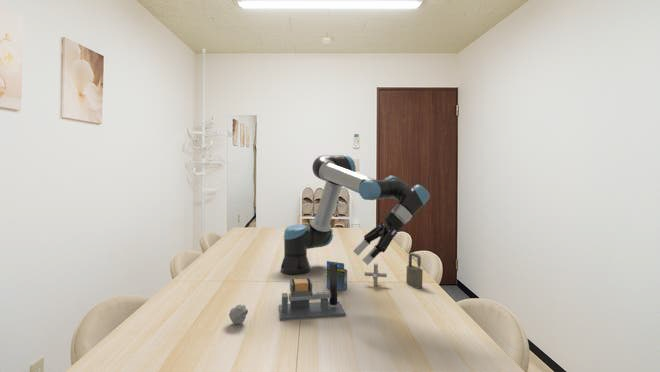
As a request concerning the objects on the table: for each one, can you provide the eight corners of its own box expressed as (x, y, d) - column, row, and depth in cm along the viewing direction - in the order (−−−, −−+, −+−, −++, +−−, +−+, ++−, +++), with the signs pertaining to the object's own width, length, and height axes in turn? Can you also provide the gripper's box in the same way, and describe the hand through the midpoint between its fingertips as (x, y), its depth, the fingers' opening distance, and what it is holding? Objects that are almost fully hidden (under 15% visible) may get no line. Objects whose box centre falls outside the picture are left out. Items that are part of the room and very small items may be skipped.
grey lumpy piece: (239, 330, 120) (239, 309, 120) (225, 324, 124) (224, 305, 123) (252, 323, 125) (252, 303, 125) (238, 318, 129) (237, 299, 128)
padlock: (416, 288, 161) (417, 256, 160) (405, 283, 168) (405, 252, 167) (423, 287, 163) (424, 255, 162) (411, 282, 170) (412, 251, 169)
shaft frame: (280, 320, 127) (280, 287, 127) (278, 307, 139) (278, 277, 138) (345, 316, 132) (346, 284, 131) (339, 303, 143) (339, 274, 143)
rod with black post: (289, 308, 132) (289, 267, 131) (288, 304, 135) (288, 264, 134) (338, 304, 136) (338, 264, 135) (336, 301, 139) (336, 262, 138)
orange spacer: (294, 296, 131) (294, 283, 131) (293, 292, 136) (293, 279, 136) (308, 296, 132) (308, 282, 132) (306, 291, 137) (306, 278, 137)
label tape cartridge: (347, 288, 161) (347, 261, 161) (344, 290, 158) (344, 263, 157) (329, 285, 165) (330, 258, 164) (326, 287, 162) (326, 260, 161)
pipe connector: (385, 289, 159) (386, 267, 159) (363, 288, 161) (363, 266, 161) (386, 282, 169) (387, 261, 168) (365, 281, 171) (366, 260, 170)
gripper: (417, 230, 127) (376, 274, 126) (392, 219, 152) (358, 256, 150) (403, 216, 126) (362, 259, 124) (380, 207, 151) (345, 244, 149)
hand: (359, 257), depth 137 cm, fingers open, 13 cm apart
